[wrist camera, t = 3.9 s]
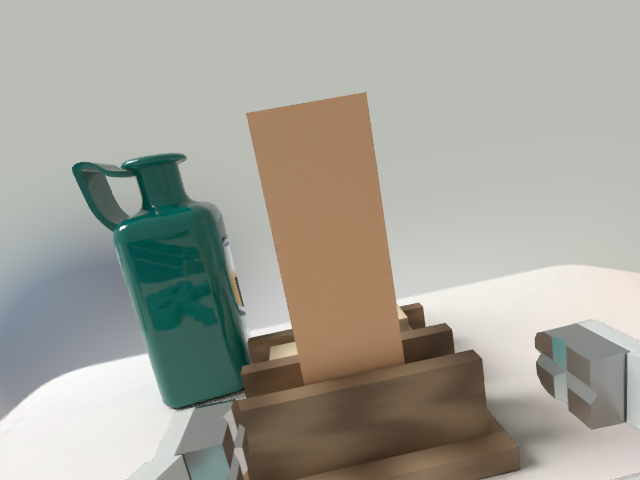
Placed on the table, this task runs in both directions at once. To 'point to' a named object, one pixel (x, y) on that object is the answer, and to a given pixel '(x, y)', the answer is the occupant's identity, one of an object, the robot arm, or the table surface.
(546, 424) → the table surface
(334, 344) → the panel
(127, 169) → the pitcher
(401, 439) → the rack
